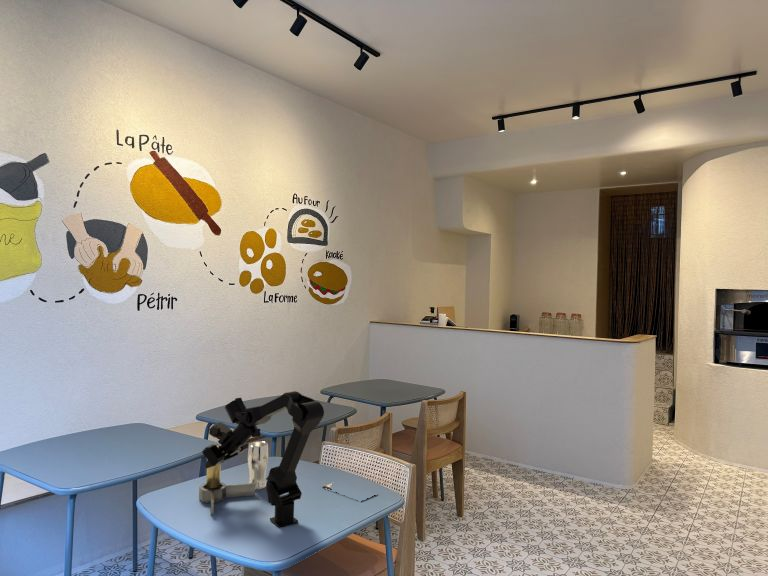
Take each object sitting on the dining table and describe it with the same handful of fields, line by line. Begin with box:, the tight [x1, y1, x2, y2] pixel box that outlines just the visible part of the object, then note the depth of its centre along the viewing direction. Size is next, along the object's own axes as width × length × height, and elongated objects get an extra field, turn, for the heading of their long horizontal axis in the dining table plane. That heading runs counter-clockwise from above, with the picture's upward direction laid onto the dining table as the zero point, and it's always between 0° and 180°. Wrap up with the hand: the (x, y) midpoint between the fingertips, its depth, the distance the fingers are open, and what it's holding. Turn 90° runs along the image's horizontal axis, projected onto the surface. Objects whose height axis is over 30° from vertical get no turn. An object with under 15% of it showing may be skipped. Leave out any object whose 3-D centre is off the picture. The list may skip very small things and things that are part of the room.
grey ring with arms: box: [198, 481, 256, 516], centre depth 178 cm, size 17×18×4 cm
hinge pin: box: [205, 445, 222, 488], centre depth 179 cm, size 4×4×12 cm
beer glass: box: [247, 440, 269, 491], centre depth 191 cm, size 7×7×15 cm
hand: (210, 465), depth 180 cm, fingers closed on hinge pin, 4 cm apart
